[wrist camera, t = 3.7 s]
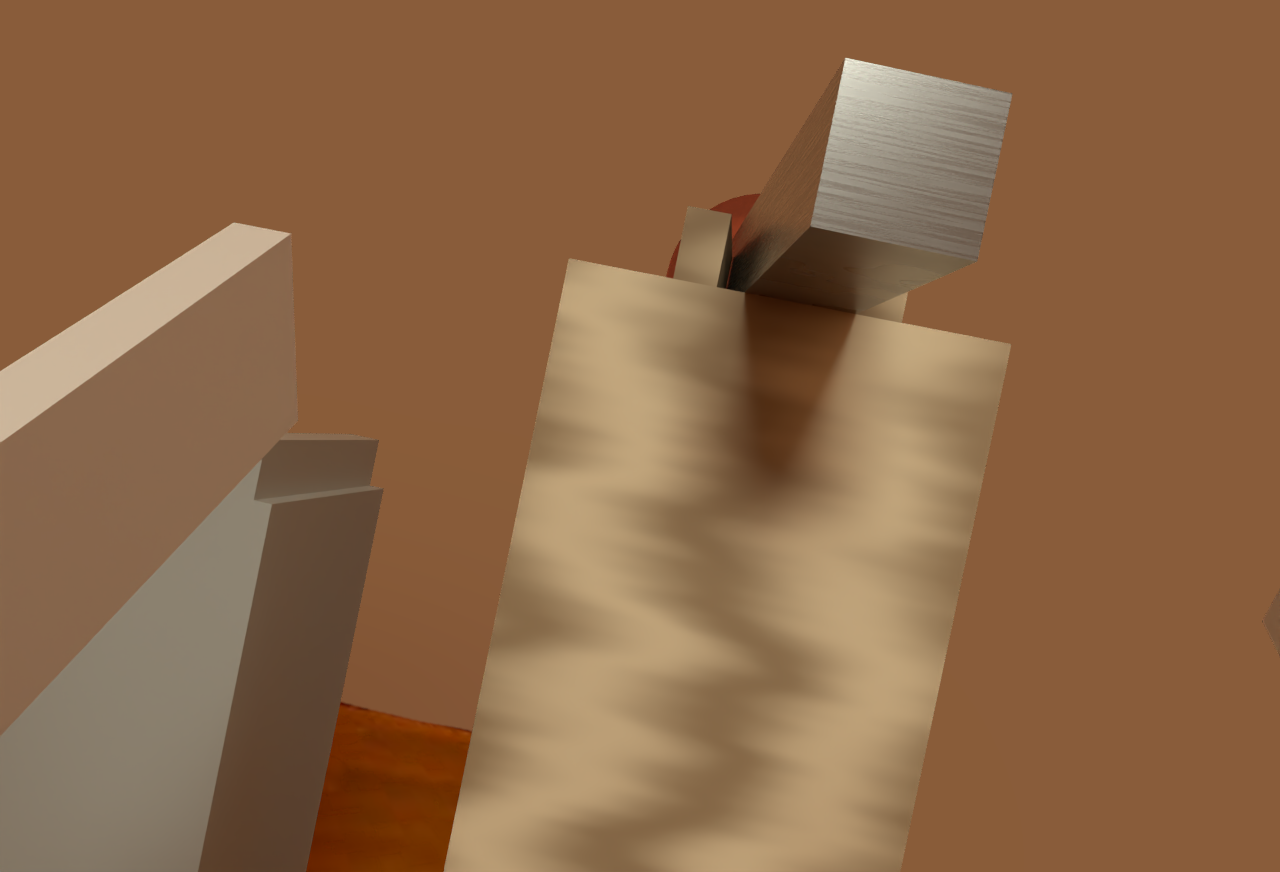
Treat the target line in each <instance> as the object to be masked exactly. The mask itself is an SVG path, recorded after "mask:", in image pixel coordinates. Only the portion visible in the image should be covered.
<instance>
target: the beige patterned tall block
mask: <svg viewBox="0 0 1280 872" xmlns="http://www.w3.org/2000/svg"><path fill="white" fill-rule="evenodd" d="M731 262H732V214H728V213H722V212H717V211H712V210H706V209H701V208H696V207H690V206H688V209H687V214H686V218H685V223H684V228H683V233H682V238H681V243H680V247H679V252H678V257H677V262H676V267H675V272H674V277H673V279H672V278H667V277H662V276H657V275H651V274H646V273H641V272H636V271H631V270H626V269H621V268H615V267H610V266H605V265H600V264H595V263H590V262H584V261H578V260H574V259H569V261H568V266H567V271H566V276H565V281H564V286H563V291H562V295H561V300H560V305H559V310H558V315H557V320H556V325H555V330H554V335H553V340H552V345H551V350H550V354H549V359H548V364H547V369H546V374H545V379H544V383H543V389H542V393H541V398H540V403H539V408H538V413H537V418H536V423H535V427H534V432H533V437H532V442H531V447H530V452H529V457H528V462H527V467H526V471H525V476H524V481H523V486H522V491H521V497H520V501H519V506H518V511H517V515H516V521H515V525H514V531H513V535H512V540H511V545H510V550H509V555H508V559H507V564H506V569H505V574H504V579H503V584H502V589H501V594H500V599H499V604H498V609H497V613H496V618H495V623H494V628H493V633H492V638H491V643H490V647H489V652H488V658H487V663H486V667H485V672H484V677H483V682H482V687H481V691H480V696H479V701H478V706H477V711H476V716H475V721H474V726H473V730H472V735H471V740H470V745H469V750H468V755H467V760H466V765H465V770H464V774H463V779H462V784H461V789H460V794H459V799H458V804H457V809H456V814H455V818H454V823H453V828H452V833H451V838H450V843H449V848H448V853H447V858H446V862H445V867H444V872H900V870H901V865H902V860H903V856H904V851H905V846H906V841H907V837H908V832H909V827H910V822H911V817H912V813H913V808H914V803H915V799H916V794H917V789H918V784H919V780H920V775H921V770H922V766H923V761H924V755H925V751H926V746H927V742H928V736H929V732H930V728H931V723H932V718H933V713H934V709H935V704H936V699H937V694H938V689H939V685H940V680H941V675H942V671H943V666H944V661H945V656H946V652H947V646H948V642H949V637H950V633H951V628H952V623H953V618H954V614H955V609H956V604H957V599H958V594H959V590H960V585H961V580H962V576H963V571H964V566H965V562H966V556H967V552H968V547H969V542H970V538H971V533H972V528H973V523H974V519H975V514H976V509H977V504H978V500H979V495H980V490H981V486H982V481H983V476H984V471H985V467H986V462H987V457H988V452H989V448H990V443H991V438H992V433H993V429H994V424H995V419H996V414H997V409H998V405H999V400H1000V395H1001V390H1002V386H1003V381H1004V376H1005V372H1006V367H1007V362H1008V357H1009V353H1010V348H1011V344H1007V343H1001V342H997V341H992V340H986V339H981V338H976V337H971V336H966V335H961V334H956V333H951V332H945V331H940V330H935V329H930V328H924V327H919V326H914V325H909V324H904V323H902V318H903V313H904V309H905V304H906V299H907V294H908V292H906V293H904V294H901V295H899V296H897V297H894V298H892V299H890V300H888V301H885V302H883V303H881V304H878V305H876V306H874V307H871V308H869V309H867V310H865V311H862V312H860V313H858V314H852V313H847V312H842V311H837V310H832V309H827V308H822V307H816V306H811V305H806V304H801V303H796V302H791V301H785V300H780V299H775V298H770V297H765V296H760V295H755V294H749V293H744V292H739V291H734V290H729V289H726V286H727V281H728V277H729V272H730V267H731Z"/></svg>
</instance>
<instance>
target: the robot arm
mask: <svg viewBox="0 0 1280 872" xmlns="http://www.w3.org/2000/svg"><path fill="white" fill-rule="evenodd" d="M292 274H293V273H292V246H291V234H290V233H285V232H279V231H275V230H270V229H264V228H259V227H254V226H248V225H244V224H238V223H233V224H231V225H230V226H228V227H226V228H225V229H223V230H222V231H220V232H219V233H217V234H216V235H214V236H212V237H211V238H209V239H208V240H206V241H204V242H203V243H201V244H200V245H198V246H197V247H195V248H193V249H192V250H190V251H189V252H187V253H186V254H184V255H182V256H181V257H179V258H178V259H176V260H175V261H173V262H172V263H170V264H168V265H167V266H165V267H164V268H162V269H161V270H159V271H157V272H156V273H154V274H153V275H151V276H150V277H148V278H146V279H145V280H143V281H142V282H140V283H138V284H137V285H135V286H134V287H132V288H131V289H129V290H127V291H126V292H124V293H123V294H121V295H120V296H118V297H116V298H115V299H113V300H112V301H110V302H109V303H107V304H106V305H104V306H102V307H101V308H99V309H98V310H96V311H95V312H93V313H91V314H90V315H88V316H87V317H85V318H83V319H82V320H80V321H79V322H77V323H76V324H74V325H72V326H71V327H69V328H68V329H66V330H64V331H63V332H61V333H60V334H58V335H57V336H55V337H53V338H52V339H50V340H49V341H47V342H46V343H44V344H42V345H41V346H39V347H38V348H36V349H35V350H33V351H32V352H30V353H29V354H27V355H25V356H24V357H22V358H21V359H19V360H17V361H16V362H14V363H13V364H11V365H10V366H8V367H6V368H5V369H3V370H2V371H0V736H1V735H2V734H3V733H4V732H5V731H6V730H7V728H8V727H9V726H10V725H11V724H12V723H13V722H14V721H15V720H16V719H17V718H18V717H19V716H20V715H21V714H22V713H23V711H24V710H25V709H26V708H27V707H28V706H29V705H30V704H31V703H32V702H33V701H34V700H35V699H36V698H37V697H38V696H39V695H40V693H41V692H42V691H43V690H44V689H45V688H46V687H47V686H48V685H49V684H50V683H51V682H52V681H53V680H54V679H55V678H56V677H57V675H58V674H59V673H60V672H61V671H62V670H63V669H64V668H65V667H66V666H67V665H68V664H69V663H70V662H71V661H72V660H73V658H74V657H75V656H76V655H77V654H78V653H79V652H80V651H81V650H82V649H83V648H84V647H85V646H86V645H87V644H88V643H89V642H90V640H91V639H92V638H93V637H94V636H95V635H96V634H97V633H98V632H99V631H100V630H101V629H102V628H103V627H104V626H105V625H106V623H107V622H108V621H109V620H110V619H111V618H112V617H113V616H114V615H115V614H116V613H117V612H118V611H119V610H120V609H121V608H122V607H123V605H124V604H125V603H126V602H127V601H128V600H129V599H130V598H131V597H132V596H133V595H134V594H135V593H136V592H137V591H138V590H139V589H140V587H141V586H142V585H143V584H144V583H145V582H146V581H147V580H148V579H149V578H150V577H151V576H152V575H153V574H154V573H155V572H156V570H157V569H158V568H159V567H160V566H161V565H162V564H163V563H164V562H165V561H166V560H167V559H168V558H169V557H170V556H171V555H172V554H173V552H174V551H175V550H176V549H177V548H178V547H179V546H180V545H181V544H182V543H183V542H184V541H185V540H186V539H187V538H188V537H189V535H190V534H191V533H192V532H193V531H194V530H195V529H196V528H197V527H198V526H199V525H200V524H201V523H202V522H203V521H204V520H205V519H206V517H207V516H208V515H209V514H210V513H211V512H212V511H213V510H214V509H215V508H216V507H217V506H218V505H219V504H220V503H221V502H222V500H223V499H224V498H225V497H226V496H227V495H228V494H229V493H230V492H231V491H232V490H233V489H234V488H235V487H236V486H237V485H238V484H239V482H240V481H241V480H242V479H243V478H244V477H245V476H246V475H247V474H248V473H249V472H250V471H251V470H252V469H253V468H254V467H255V466H256V464H257V463H258V462H259V461H260V460H261V459H262V458H263V457H264V456H265V455H266V454H267V453H268V452H269V451H270V450H271V449H272V447H273V446H274V445H275V444H276V443H277V442H278V441H279V440H280V439H281V438H282V437H283V436H284V435H285V434H286V433H287V432H288V431H289V429H290V428H291V427H292V426H293V425H294V424H295V423H296V422H297V421H298V412H297V387H296V386H297V384H296V358H295V332H294V330H295V329H294V303H293V302H294V301H293V275H292ZM1262 622H1263V624H1264V626H1265V628H1266V630H1267V632H1268V634H1269V636H1270V638H1271V640H1272V642H1273V644H1274V646H1275V648H1276V650H1277V652H1278V654H1279V656H1280V589H1279V591H1278V593H1277V595H1276V597H1275V598H1274V600H1273V602H1272V604H1271V606H1270V608H1269V610H1268V611H1267V613H1266V615H1265V617H1264V618H1263V621H1262Z"/></svg>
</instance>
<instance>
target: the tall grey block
mask: <svg viewBox="0 0 1280 872" xmlns="http://www.w3.org/2000/svg"><path fill="white" fill-rule="evenodd" d="M378 442H379V440H377V439H372V438H367V437H362V436H357V435H353V434H310V433H309V434H307V433H286V434H285V435H284V436H283V437H282V438H281V439H280V440H279V441H278V442H277V443H276V444H275V445H274V446H273V447H272V449H271V450H270V451H269V452H268V453H267V454H266V455H265V456H264V457H263V458H262V459H261V460H260V461H259V462H258V463H257V464H256V466H255V467H254V468H253V469H252V470H251V471H250V472H249V473H248V474H247V475H246V476H245V477H244V478H243V479H242V480H241V481H240V482H239V484H238V485H237V486H236V487H235V488H234V489H233V490H232V491H231V492H230V493H229V494H228V495H227V496H226V497H225V498H224V499H223V500H222V502H221V503H220V504H219V505H218V506H217V507H216V508H215V509H214V510H213V511H212V512H211V513H210V514H209V515H208V516H207V517H206V519H205V520H204V521H203V522H202V523H201V524H200V525H199V526H198V527H197V528H196V529H195V530H194V531H193V532H192V533H191V534H190V535H189V537H188V538H187V539H186V540H185V541H184V542H183V543H182V544H181V545H180V546H179V547H178V548H177V549H176V550H175V551H174V552H173V554H172V555H171V556H170V557H169V558H168V559H167V560H166V561H165V562H164V563H163V564H162V565H161V566H160V567H159V568H158V569H157V570H156V572H155V573H154V574H153V575H152V576H151V577H150V578H149V579H148V580H147V581H146V582H145V583H144V584H143V585H142V586H141V587H140V589H139V590H138V591H137V592H136V593H135V594H134V595H133V596H132V597H131V598H130V599H129V600H128V601H127V602H126V603H125V604H124V605H123V607H122V608H121V609H120V610H119V611H118V612H117V613H116V614H115V615H114V616H113V617H112V618H111V619H110V620H109V621H108V622H107V623H106V625H105V626H104V627H103V628H102V629H101V630H100V631H99V632H98V633H97V634H96V635H95V636H94V637H93V638H92V639H91V640H90V642H89V643H88V644H87V645H86V646H85V647H84V648H83V649H82V650H81V651H80V652H79V653H78V654H77V655H76V656H75V657H74V658H73V660H72V661H71V662H70V663H69V664H68V665H67V666H66V667H65V668H64V669H63V670H62V671H61V672H60V673H59V674H58V675H57V677H56V678H55V679H54V680H53V681H52V682H51V683H50V684H49V685H48V686H47V687H46V688H45V689H44V690H43V691H42V692H41V693H40V695H39V696H38V697H37V698H36V699H35V700H34V701H33V702H32V703H31V704H30V705H29V706H28V707H27V708H26V709H25V710H24V711H23V713H22V714H21V715H20V716H19V717H18V718H17V719H16V720H15V721H14V722H13V723H12V724H11V725H10V726H9V727H8V728H7V730H6V731H5V732H4V733H3V734H2V735H1V736H0V872H306V869H307V864H308V859H309V854H310V849H311V844H312V839H313V835H314V830H315V825H316V820H317V815H318V810H319V805H320V800H321V795H322V790H323V785H324V780H325V775H326V770H327V766H328V761H329V756H330V751H331V746H332V741H333V736H334V731H335V726H336V721H337V716H338V711H339V706H340V701H341V696H342V692H343V687H344V682H345V677H346V672H347V667H348V662H349V657H350V652H351V647H352V642H353V637H354V632H355V627H356V622H357V617H358V612H359V608H360V603H361V598H362V592H363V588H364V583H365V578H366V573H367V568H368V563H369V558H370V553H371V548H372V544H373V538H374V533H375V529H376V524H377V519H378V514H379V509H380V504H381V499H382V494H383V488H378V487H374V486H370V481H371V477H372V472H373V466H374V462H375V457H376V452H377V447H378Z"/></svg>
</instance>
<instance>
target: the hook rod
mask: <svg viewBox="0 0 1280 872" xmlns="http://www.w3.org/2000/svg"><path fill="white" fill-rule="evenodd" d="M1011 97H1012V93H1007V92H1002V91H998V90H993V89H988V88H984V87H979V86H974V85H970V84H965V83H961V82H956V81H951V80H947V79H942V78H937V77H933V76H928V75H923V74H919V73H914V72H909V71H905V70H900V69H895V68H890V67H886V66H881V65H876V64H872V63H867V62H862V61H857V60H853V59H848V58H845V59H844V61H843V63H842V64H841V66H840V67H839V69H838V71H837V72H836V74H835V76H834V77H833V79H832V80H831V82H830V83H829V85H828V87H827V88H826V90H825V92H824V93H823V95H822V96H821V98H820V99H819V101H818V103H817V104H816V106H815V108H814V109H813V111H812V113H811V114H810V115H809V117H808V119H807V121H806V122H805V124H804V125H803V127H802V128H801V130H800V132H799V133H798V135H797V136H796V138H795V140H794V141H793V143H792V144H791V146H790V148H789V149H788V151H787V153H786V154H785V156H784V157H783V159H782V160H781V162H780V164H779V165H778V167H777V169H776V170H775V172H774V173H773V175H772V177H771V178H770V180H769V181H768V183H767V184H766V186H765V188H764V189H763V191H762V193H761V194H752V195H744V196H740V197H737V198H733V199H730V200H728V201H725V202H723V203H721V204H719V205H717V206H715V207H713V208H712V209H710V210H712V211H717V212H722V213H728V214H732V262H731V267H730V272H729V277H728V281H727V286H726V289H729V290H734V291H739V292H744V293H749V294H755V295H760V296H765V297H770V298H775V299H780V300H785V301H791V302H796V303H801V304H806V305H811V306H816V307H822V308H827V309H832V310H837V311H842V312H847V313H852V314H858V313H860V312H862V311H865V310H867V309H869V308H871V307H874V306H876V305H878V304H881V303H883V302H885V301H888V300H890V299H892V298H894V297H897V296H899V295H901V294H904V293H906V292H908V291H910V290H913V289H915V288H917V287H919V286H922V285H924V284H926V283H929V282H931V281H933V280H936V279H938V278H940V277H942V276H945V275H947V274H949V273H952V272H954V271H956V270H958V269H961V268H963V267H965V266H967V265H970V264H972V263H975V262H977V259H978V255H979V250H980V245H981V240H982V235H983V231H984V226H985V220H986V216H987V212H988V207H989V202H990V197H991V193H992V188H993V183H994V178H995V173H996V169H997V164H998V159H999V155H1000V150H1001V145H1002V140H1003V135H1004V131H1005V126H1006V121H1007V116H1008V112H1009V107H1010V102H1011ZM680 243H681V240H680V241H679V243H678V245H677V247H676V249H675V251H674V253H673V256H672V258H671V261H670V264H669V268H668V271H667V275H666V277H667V278H672V279H673V277H674V272H675V267H676V262H677V257H678V252H679V247H680Z"/></svg>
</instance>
